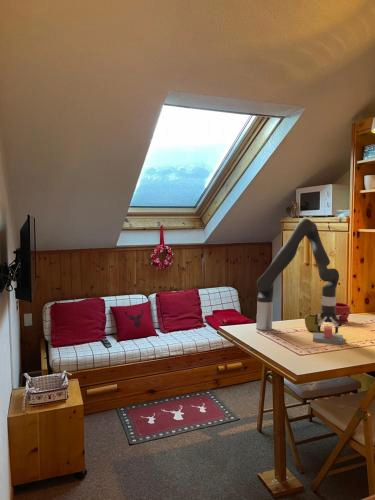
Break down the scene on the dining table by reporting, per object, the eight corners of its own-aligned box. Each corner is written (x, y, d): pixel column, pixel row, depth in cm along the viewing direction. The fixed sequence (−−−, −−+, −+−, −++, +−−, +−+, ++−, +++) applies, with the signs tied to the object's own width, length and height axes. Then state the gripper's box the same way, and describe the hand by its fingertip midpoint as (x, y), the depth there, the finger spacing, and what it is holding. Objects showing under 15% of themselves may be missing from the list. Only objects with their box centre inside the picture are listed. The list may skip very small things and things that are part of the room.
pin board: (312, 341, 221) (313, 332, 221) (313, 335, 233) (313, 327, 232) (343, 344, 216) (344, 335, 216) (342, 338, 228) (342, 329, 228)
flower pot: (308, 327, 251) (308, 313, 251) (322, 329, 246) (322, 315, 246) (303, 330, 244) (304, 316, 243) (318, 333, 239) (318, 318, 238)
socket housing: (324, 338, 221) (324, 329, 221) (324, 334, 229) (324, 325, 229) (331, 338, 220) (332, 329, 220) (331, 334, 228) (331, 326, 227)
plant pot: (324, 320, 270) (324, 303, 269) (340, 319, 274) (340, 302, 273) (336, 325, 258) (337, 306, 257) (353, 323, 262) (354, 305, 261)
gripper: (315, 304, 222) (314, 333, 223) (342, 306, 217) (341, 335, 218) (315, 302, 229) (314, 329, 230) (341, 303, 225) (341, 332, 226)
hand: (327, 332), depth 224 cm, fingers open, 8 cm apart
